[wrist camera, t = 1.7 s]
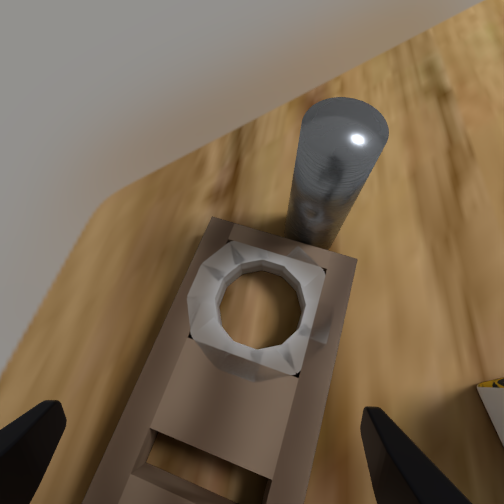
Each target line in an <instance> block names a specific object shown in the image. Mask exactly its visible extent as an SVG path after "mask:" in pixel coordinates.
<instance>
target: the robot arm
mask: <svg viewBox="0 0 504 504" xmlns="http://www.w3.org/2000/svg"><path fill="white" fill-rule="evenodd" d="M65 427H66V417H65V414H64V411H63V408H62V405H61V403H60V402H59V401H58V400H45V401H43V402H41V403H39V404H38V405H36V406H35V407H33V408H32V409H31V410H29V411H28V412H26V413H25V414H23V415H22V416H20V417H19V418H17V419H16V420H14V421H13V422H11V423H10V424H8V425H7V426H6V427H4V428H3V429H1V430H0V504H29V503H30V502H31V500H32V498H33V496H34V494H35V492H36V490H37V489H38V487H39V485H40V483H41V480H42V478H43V476H44V474H45V472H46V470H47V467H48V465H49V463H50V461H51V459H52V456H53V454H54V452H55V450H56V447H57V445H58V443H59V441H60V439H61V436H62V434H63V432H64V430H65ZM360 429H361V437H362V441H363V446H364V450H365V454H366V459H367V463H368V468H369V472H370V477H371V481H372V486H373V490H374V494H375V498H376V501H377V504H472V503H471V502H470V501H469V500H468V499H467V498H466V497H465V496H464V495H463V494H462V493H461V491H460V490H459V489H458V488H457V487H456V486H455V485H454V484H453V483H452V482H451V481H450V480H449V479H448V478H447V477H446V476H445V475H444V474H443V473H442V472H441V471H440V470H439V469H438V467H437V466H436V465H435V464H434V463H433V462H432V461H431V460H430V459H429V458H428V457H427V456H426V455H425V454H424V453H423V452H422V451H421V450H420V449H419V448H418V447H417V446H416V445H415V443H414V442H413V441H412V440H411V439H410V438H409V437H408V436H407V435H406V434H405V433H404V432H403V431H402V430H401V429H400V428H399V427H398V426H397V425H396V424H395V423H394V422H393V421H392V419H391V418H390V417H389V416H388V415H387V414H386V413H385V412H384V411H383V410H382V409H381V408H379V407H365V408H364V410H363V416H362V421H361V427H360Z"/></svg>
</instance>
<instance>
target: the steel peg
mask: <svg viewBox="0 0 504 504" xmlns="http://www.w3.org/2000/svg"><path fill="white" fill-rule="evenodd" d="M388 135H389V129H388V125H387V122H386V120H385V119H384V117H383V116H382V114H381V113H380V112H379V111H378V110H377V109H375V108H374V107H373V106H371V105H369V104H367V103H365V102H363V101H360V100H357V99H353V98H346V97H336V98H329V99H325V100H322V101H320V102H318V103H316V104H315V105H313V106H312V107H311V108H310V109H309V110H308V111H307V112H306V113H305V115H304V117H303V120H302V125H301V131H300V137H299V143H298V150H297V156H296V162H295V168H294V174H293V180H292V187H291V193H290V199H289V205H288V211H287V217H286V224H285V230H284V236H285V238H287V239H291V240H294V241H297V242H301V243H304V244H308V245H311V246H314V247H318V248H321V249H325V250H328V249H329V248H330V247H331V245H332V243H333V241H334V240H335V238H336V236H337V234H338V232H339V230H340V228H341V227H342V225H343V223H344V221H345V219H346V217H347V215H348V213H349V212H350V210H351V208H352V206H353V204H354V202H355V200H356V199H357V197H358V195H359V193H360V191H361V189H362V187H363V185H364V184H365V182H366V180H367V178H368V176H369V174H370V172H371V171H372V169H373V167H374V165H375V163H376V161H377V159H378V157H379V156H380V154H381V152H382V150H383V148H384V146H385V144H386V142H387V140H388Z"/></svg>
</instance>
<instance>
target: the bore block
mask: <svg viewBox="0 0 504 504" xmlns="http://www.w3.org/2000/svg"><path fill="white" fill-rule="evenodd" d="M356 264H357V259H355V258H352V257H349V256H345V255H342V254H338V253H335V252H332V251H328V250H325V249H321V248H318V247H314V246H311V245H308V244H304V243H301V242H297V241H294V240H291V239H287V238H284V237H280V236H277V235H273V234H270V233H267V232H263V231H260V230H256V229H253V228H250V227H246V226H243V225H239V224H236V223H233V222H229V221H226V220H222V219H219V218H215V217H211V220H210V222H209V224H208V226H207V229H206V231H205V233H204V235H203V237H202V240H201V242H200V244H199V246H198V248H197V251H196V253H195V255H194V257H193V259H192V262H191V264H190V266H189V268H188V270H187V273H186V275H185V277H184V279H183V281H182V284H181V286H180V288H179V290H178V292H177V295H176V297H175V299H174V301H173V303H172V306H171V308H170V310H169V312H168V314H167V317H166V319H165V321H164V323H163V325H162V328H161V330H160V332H159V334H158V337H157V339H156V341H155V343H154V345H153V348H152V350H151V352H150V354H149V356H148V359H147V361H146V363H145V365H144V367H143V370H142V372H141V374H140V376H139V378H138V381H137V383H136V385H135V387H134V389H133V392H132V394H131V396H130V398H129V400H128V403H127V405H126V407H125V409H124V411H123V414H122V416H121V418H120V420H119V422H118V425H117V427H116V429H115V431H114V433H113V436H112V438H111V440H110V442H109V445H108V447H107V449H106V451H105V453H104V456H103V458H102V460H101V462H100V464H99V467H98V469H97V471H96V473H95V475H94V478H93V480H92V482H91V484H90V486H89V489H88V491H87V493H86V495H85V497H84V500H83V502H82V504H237V503H235V502H233V501H231V500H228V499H226V498H224V497H222V496H220V495H217V494H215V493H213V492H211V491H208V490H206V489H204V488H202V487H199V486H197V485H195V484H193V483H191V482H188V481H186V480H184V479H182V478H179V477H177V476H175V475H173V474H170V473H168V472H166V471H164V470H162V469H159V468H157V467H155V466H153V465H150V464H148V463H146V461H147V458H148V456H149V453H150V451H151V448H152V446H153V443H154V441H155V439H156V436H157V434H158V431H159V432H161V433H163V434H166V435H168V436H170V437H173V438H175V439H177V440H180V441H182V442H184V443H187V444H189V445H191V446H194V447H196V448H198V449H201V450H203V451H205V452H208V453H210V454H212V455H215V456H217V457H220V458H222V459H224V460H227V461H229V462H231V463H234V464H236V465H238V466H241V467H243V468H245V469H248V470H250V471H252V472H255V473H257V474H259V475H262V476H264V477H266V478H268V481H267V485H266V488H265V492H264V496H263V500H262V504H304V500H305V496H306V491H307V487H308V482H309V478H310V473H311V469H312V464H313V459H314V455H315V450H316V446H317V441H318V437H319V432H320V428H321V423H322V418H323V414H324V409H325V405H326V400H327V396H328V391H329V387H330V382H331V378H332V373H333V368H334V364H335V359H336V355H337V350H338V346H339V341H340V337H341V332H342V327H343V323H344V318H345V314H346V309H347V305H348V300H349V296H350V291H351V286H352V282H353V277H354V273H355V268H356ZM261 270H263V271H266V272H269V273H273V274H276V275H279V276H282V277H283V278H284V279H285V280H286V281H287V282H288V283H289V284H290V285H291V286H292V288H293V289H294V290H295V291H296V293H297V296H298V300H299V304H300V308H301V316H300V319H299V323H298V326H297V330H296V332H295V333H294V334H292V335H291V336H290V337H289V338H288V339H287V340H286V341H285V342H284V343H283V344H282V345H277V346H273V347H268V348H263V349H258V350H257V349H254V348H251V347H248V346H245V345H243V344H240V343H237V342H234V341H233V340H232V339H231V338H230V336H229V335H228V334H227V333H226V331H225V330H224V329H223V328H222V322H221V315H220V309H219V306H220V303H221V301H222V298H223V295H224V293H225V290H226V288H227V286H229V285H230V284H231V283H232V282H234V281H235V280H236V279H237V278H238V277H240V276H241V275H242V274H246V273H251V272H256V271H261ZM295 374H296V375H295ZM291 375H295V377H294V376H291Z"/></svg>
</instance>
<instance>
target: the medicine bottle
mask: <svg viewBox="0 0 504 504" xmlns="http://www.w3.org/2000/svg"><path fill="white" fill-rule="evenodd" d="M477 390H478V393H479V395H480V397H481V399H482V401H483V403H484V405H485V408H486V410H487V412H488V414H489V416H490V418H491V421H492V423H493V425H494V427H495V429H496V431H497V434H498V436H499V438H500V440H501V442H502V444H503V446H504V378H500V379H496V380H491V381H487V382H483V383H480V384H478V385H477Z"/></svg>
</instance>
